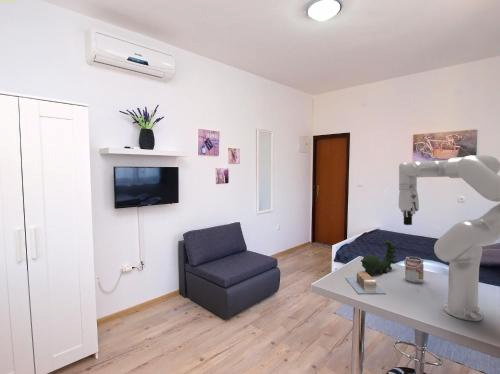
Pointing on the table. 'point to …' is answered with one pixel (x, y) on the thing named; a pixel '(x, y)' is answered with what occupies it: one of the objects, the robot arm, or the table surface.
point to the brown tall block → (366, 282)
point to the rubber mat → (359, 289)
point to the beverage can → (414, 269)
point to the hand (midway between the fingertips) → (407, 224)
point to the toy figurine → (379, 261)
